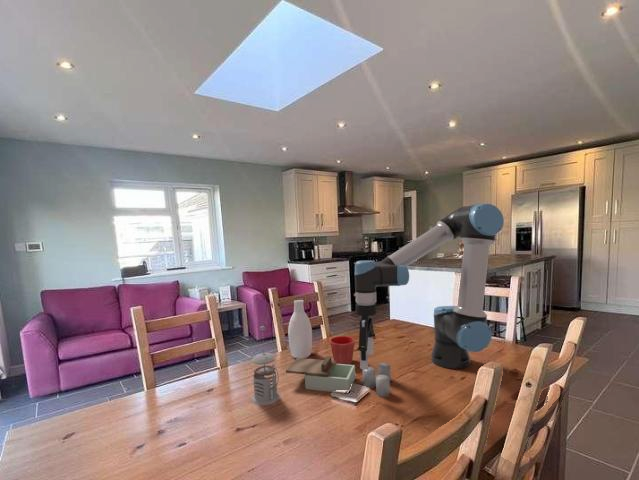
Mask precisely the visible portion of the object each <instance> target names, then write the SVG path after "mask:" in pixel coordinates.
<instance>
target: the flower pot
mask: <svg viewBox="0 0 639 480" xmlns="http://www.w3.org/2000/svg"><path fill="white" fill-rule="evenodd" d="M329 343H330V349H331V354H332V359H333V361H336V364H346V365H352V363H353V358H354V357H353V356H354V350H355V349H354V348H355V343H356V342H355V339H354V337H351V336H347V335H341V336H340V335H339V336H334V337H331V338H330V339H329Z"/></svg>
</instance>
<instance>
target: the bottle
mask: <svg viewBox="0 0 639 480" xmlns="http://www.w3.org/2000/svg"><path fill="white" fill-rule="evenodd" d="M304 302H305V301H304V300H303V299H297V300H296V299H295V300H293V313H292V315H291V317H290V319H289V323H288V328H287V329H288V331H287V333H288V334H287V335H288V345H289V350H290V355H291V357H292V358H295V359H297V358H306V359H308V357H310V356H311V354H312V348H313V347H312V344H313V329H312V328H313V327H312V324H311V321H310V318H309V316H308V314H306V312H305V308H304Z"/></svg>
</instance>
